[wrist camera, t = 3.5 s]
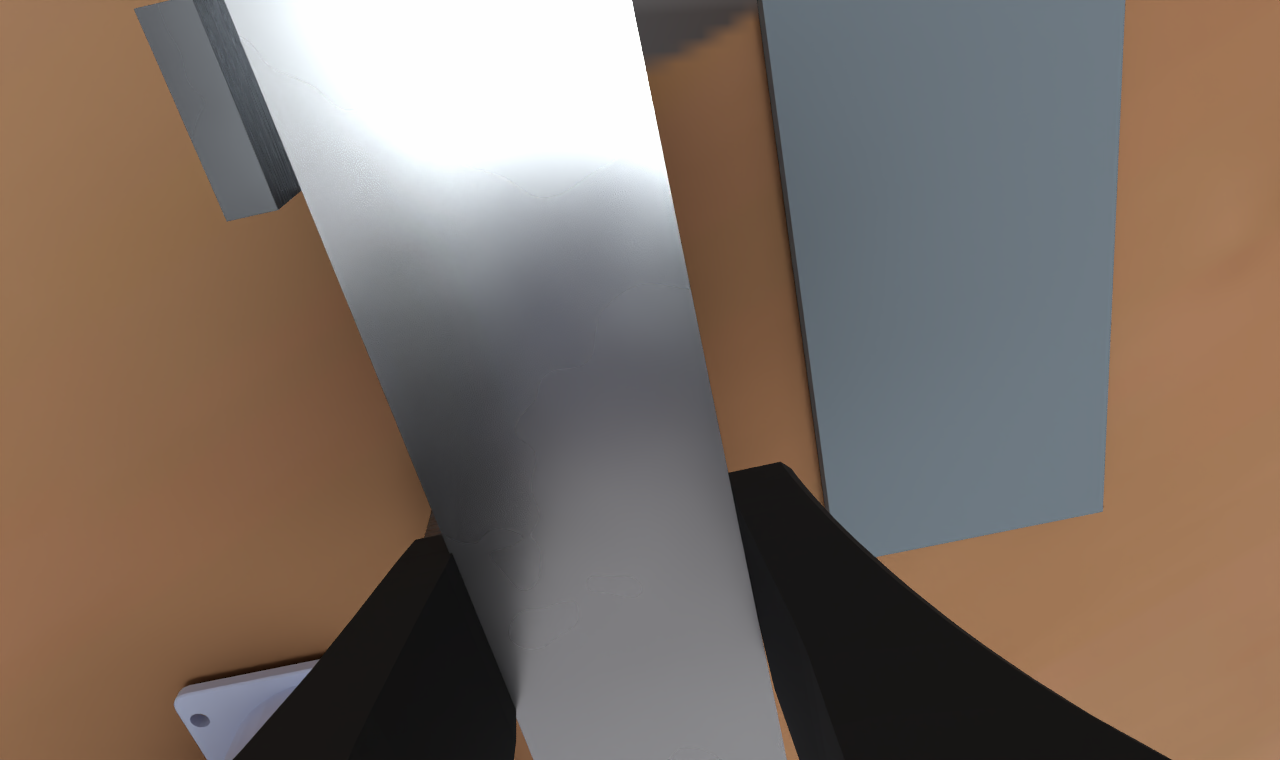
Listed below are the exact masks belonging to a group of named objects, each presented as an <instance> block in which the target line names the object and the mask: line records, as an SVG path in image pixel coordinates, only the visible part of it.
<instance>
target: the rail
mask: <svg viewBox="0 0 1280 760" xmlns="http://www.w3.org/2000/svg"><path fill="white" fill-rule="evenodd" d="M224 1H225V3H226V6H227V8H228V11H229V13H230V16H231V18H232V21H233V23H234V25H235V28H236V30H237V33H238V35H239V38H240V40H241V43H242V45H243V48H244V50H245V52H246V55H247V57H248V60H249V62H250V65H251V67H252V70H253V72H254V75H255V77H256V79H257V82H258V84H259V87H260V89H261V92H262V94H263V97H264V99H265V102H266V104H267V106H268V109H269V111H270V114H271V116H272V119H273V121H274V124H275V126H276V129H277V131H278V133H279V136H280V138H281V141H282V143H283V146H284V148H285V151H286V153H287V156H288V158H289V160H290V163H291V165H292V168H293V170H294V173H295V175H296V178H297V180H298V183H299V185H300V188H301V190H302V192H303V195H304V197H305V200H306V202H307V205H308V207H309V210H310V212H311V215H312V217H313V219H314V222H315V224H316V227H317V229H318V232H319V234H320V237H321V239H322V242H323V244H324V246H325V249H326V251H327V254H328V256H329V259H330V261H331V264H332V266H333V269H334V271H335V273H336V276H337V278H338V281H339V283H340V286H341V288H342V291H343V293H344V296H345V298H346V300H347V303H348V305H349V308H350V310H351V313H352V315H353V318H354V320H355V323H356V325H357V327H358V330H359V332H360V335H361V337H362V340H363V342H364V345H365V347H366V350H367V352H368V354H369V357H370V359H371V362H372V364H373V367H374V369H375V372H376V374H377V377H378V379H379V381H380V384H381V386H382V389H383V391H384V394H385V396H386V399H387V401H388V404H389V406H390V408H391V411H392V413H393V416H394V418H395V421H396V423H397V426H398V428H399V431H400V433H401V436H402V438H403V440H404V443H405V445H406V448H407V450H408V453H409V455H410V458H411V460H412V463H413V465H414V467H415V470H416V472H417V475H418V477H419V480H420V482H421V485H422V487H423V490H424V492H425V494H426V497H427V499H428V502H429V504H430V507H431V509H432V512H433V514H434V517H435V519H436V521H437V524H438V526H439V529H440V531H441V534H442V536H443V539H444V541H445V544H446V546H447V548H448V551H449V553H452V554H453V556H454V559H455V561H456V564H457V566H458V569H459V571H460V573H461V576H462V578H463V581H464V583H465V586H466V588H467V591H468V593H469V596H470V598H471V601H472V603H473V605H474V608H475V610H476V613H477V615H478V618H479V620H480V623H481V625H482V628H483V630H484V632H485V635H486V637H487V640H488V642H489V645H490V647H491V650H492V652H493V655H494V657H495V659H496V662H497V664H498V667H499V669H500V672H501V674H502V677H503V679H504V682H505V684H506V687H507V689H508V691H509V694H510V696H511V699H512V701H513V704H514V706H515V709H516V718H517V720H518V723H519V725H520V728H521V730H522V733H523V735H524V738H525V740H526V742H527V745H528V747H529V750H530V752H531V755H532V757H533V760H787V759H786V754H785V749H784V744H783V739H782V734H781V729H780V724H779V720H778V715H777V710H776V705H775V700H774V695H773V690H772V685H771V680H770V676H769V671H768V666H767V661H766V656H765V651H764V646H763V641H762V636H761V631H760V627H759V622H758V617H757V612H756V607H755V602H754V597H753V592H752V587H751V583H750V578H749V573H748V568H747V563H746V558H745V553H744V548H743V543H742V538H741V534H740V529H739V524H738V519H737V514H736V509H735V504H734V499H733V494H732V489H731V485H730V480H729V475H728V470H727V465H726V460H725V455H724V450H723V445H722V441H721V436H720V431H719V426H718V421H717V416H716V411H715V406H714V401H713V396H712V392H711V387H710V382H709V377H708V372H707V367H706V362H705V357H704V352H703V348H702V343H701V338H700V333H699V328H698V323H697V318H696V313H695V308H694V303H693V299H692V294H691V289H690V284H689V279H688V274H687V269H686V264H685V259H684V255H683V250H682V245H681V240H680V235H679V230H678V225H677V220H676V215H675V210H674V206H673V201H672V196H671V191H670V186H669V181H668V176H667V171H666V166H665V161H664V157H663V152H662V147H661V142H660V137H659V132H658V127H657V122H656V117H655V113H654V108H653V103H652V98H651V93H650V88H649V83H648V78H647V73H646V68H645V64H644V59H643V54H642V49H641V44H640V39H639V34H638V30H637V25H636V20H635V15H634V10H633V5H632V0H224Z"/></svg>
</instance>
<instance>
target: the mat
mask: <svg viewBox="0 0 1280 760" xmlns="http://www.w3.org/2000/svg"><path fill="white" fill-rule="evenodd" d="M757 4H758V11H759V19H760V26H761V34H762V41H763V48H764V56H765V63H766V71H767V78H768V86H769V93H770V101H771V108H772V115H773V123H774V130H775V138H776V145H777V153H778V160H779V168H780V175H781V183H782V190H783V197H784V205H785V212H786V220H787V227H788V235H789V242H790V250H791V257H792V264H793V272H794V279H795V287H796V294H797V302H798V309H799V317H800V324H801V332H802V339H803V346H804V354H805V361H806V369H807V376H808V384H809V391H810V399H811V406H812V413H813V421H814V428H815V436H816V443H817V451H818V458H819V466H820V473H821V481H822V488H823V495H824V503H825V509H826V510H827V511H828V512H829V513H830V514H831V515H832V516H833V517H834V518H835V519H836V520H837V521H838V522H839V523H840V524H841V525H842V526H843V527H844V528H845V529H846V530H847V531H848V532H849V533H850V534H851V535H852V536H853V537H854V538H855V539H856V540H857V541H858V542H859V543H860V544H861V545H863V546H864V547H865V548H866V549H867V550H868V551H869V552H870V553H871V554H872V555H874V556H875V557H878V556H883V555H888V554H893V553H898V552H903V551H908V550H913V549H918V548H923V547H928V546H933V545H938V544H943V543H948V542H953V541H958V540H963V539H968V538H973V537H978V536H983V535H988V534H993V533H998V532H1003V531H1008V530H1013V529H1018V528H1023V527H1028V526H1033V525H1038V524H1043V523H1048V522H1053V521H1058V520H1063V519H1068V518H1073V517H1078V516H1083V515H1088V514H1093V513H1098V512H1103V493H1104V470H1105V447H1106V425H1107V402H1108V379H1109V357H1110V334H1111V311H1112V289H1113V266H1114V243H1115V221H1116V198H1117V175H1118V153H1119V130H1120V107H1121V85H1122V62H1123V39H1124V16H1125V0H757Z"/></svg>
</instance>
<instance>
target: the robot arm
mask: <svg viewBox="0 0 1280 760" xmlns="http://www.w3.org/2000/svg"><path fill="white" fill-rule="evenodd" d="M728 475H729V480H730V485H731V489H732V494H733V499H734V504H735V509H736V514H737V519H738V524H739V529H740V534H741V538H742V543H743V548H744V553H745V558H746V563H747V568H748V573H749V578H750V583H751V587H752V592H753V597H754V602H755V607H756V612H757V617H758V622H759V626H760V630H761V634H762V638H763V643H764V647H765V651H766V655H767V659H768V663H769V667H770V672H771V676H772V680H773V684H774V688H775V691H776V694H777V697H778V700H779V703H780V706H781V708H782V711H783V714H784V717H785V720H786V723H787V726H788V728H789V731H790V734H791V737H792V740H793V743H794V746H795V749H796V751H797V754H798V757H799V760H1171V759H1169V758H1168V757H1166V756H1164V755H1162V754H1160V753H1159V752H1157V751H1155V750H1153V749H1151V748H1150V747H1148V746H1146V745H1144V744H1142V743H1141V742H1139V741H1137V740H1135V739H1133V738H1132V737H1130V736H1128V735H1126V734H1124V733H1123V732H1121V731H1119V730H1117V729H1115V728H1114V727H1112V726H1110V725H1108V724H1106V723H1105V722H1103V721H1101V720H1099V719H1097V718H1096V717H1094V716H1092V715H1090V714H1089V713H1087V712H1085V711H1084V710H1082V709H1081V708H1079V707H1077V706H1076V705H1074V704H1073V703H1071V702H1069V701H1068V700H1066V699H1065V698H1063V697H1062V696H1060V695H1058V694H1057V693H1055V692H1054V691H1052V690H1050V689H1049V688H1047V687H1046V686H1044V685H1042V684H1041V683H1039V682H1038V681H1036V680H1035V679H1033V678H1031V677H1030V676H1029V675H1027V674H1026V673H1024V672H1023V671H1021V670H1020V669H1018V668H1017V667H1015V666H1014V665H1012V664H1011V663H1009V662H1008V661H1006V660H1005V659H1003V658H1002V657H1001V656H999V655H998V654H996V653H995V652H993V651H992V650H990V649H989V648H987V647H986V646H985V645H983V644H982V643H981V642H979V641H978V640H976V639H975V638H974V637H972V636H971V635H970V634H968V633H967V632H966V631H964V630H963V629H962V628H960V627H959V626H958V625H956V624H955V623H954V622H952V621H951V620H950V619H948V618H947V617H946V616H945V615H943V614H942V613H941V612H940V611H938V610H937V609H936V608H935V607H933V606H932V605H931V604H930V603H928V602H927V601H926V600H925V599H923V598H922V597H921V596H920V595H918V594H917V593H916V592H915V591H913V590H912V589H911V588H910V587H909V586H907V585H906V584H905V583H904V582H903V581H902V580H900V579H899V578H898V577H897V576H896V575H895V574H893V573H892V572H891V571H890V570H889V569H888V568H887V567H886V566H884V565H883V564H882V563H881V562H880V561H879V560H878V559H877V558H876V557H875V556H874V555H872V554H871V553H870V552H869V551H868V550H867V549H866V548H865V547H864V546H863V545H861V544H860V543H859V542H858V541H857V540H856V539H855V538H854V537H853V536H852V535H851V534H850V533H849V532H848V531H847V530H846V529H845V528H844V527H843V526H842V525H841V524H840V523H839V522H838V521H837V520H836V519H835V518H834V517H833V516H832V515H831V514H830V513H829V512H828V511H827V510H826V509H825V508H824V507H823V506H822V505H821V504H820V502H819V501H818V500H817V499H816V498H815V497H814V496H813V495H812V494H811V492H810V491H809V490H808V489H807V488H806V487H805V485H804V484H803V483H802V482H801V481H800V479H799V478H798V477H797V476H796V474H795V473H794V472H793V470H792V469H791V468H789V467H788V466H786V465H785V464H783V463H781V462H777V463H773V464H768V465H763V466H759V467H754V468H749V469H745V470H740V471H735V472H731V473H728ZM174 707H175V710H176V712H177V713H178V715H179V716H180V718H181V719H182V721H183V723H184V724H185V726H186V727H187V729H188V730H189V732H190V734H191V735H192V737H193V738H194V740H195V742H196V743H197V745H198V746H199V748H200V749H201V751H202V753H203V754H204V756H205V757H206V759H207V760H514V753H515V744H516V709H515V706H514V704H513V701H512V699H511V696H510V694H509V691H508V689H507V687H506V684H505V682H504V679H503V677H502V674H501V672H500V669H499V667H498V664H497V662H496V659H495V657H494V655H493V652H492V650H491V647H490V645H489V642H488V640H487V637H486V635H485V632H484V630H483V628H482V625H481V623H480V620H479V618H478V615H477V613H476V610H475V608H474V605H473V603H472V601H471V598H470V596H469V593H468V591H467V588H466V586H465V583H464V581H463V578H462V576H461V573H460V571H459V569H458V566H457V564H456V561H455V559H454V556H453V554H452V553H449V551H448V548H447V546H446V544H445V541H444V539H443V536H442V534H441V535H436V536H431V537H427V538H422V539H417V540H415V541H414V542H413V543H412V544H411V546H410V547H409V548H408V549H407V550H406V551H405V553H404V554H403V555H402V556H401V557H400V559H399V560H398V561H397V562H396V564H395V565H394V566H393V567H392V569H391V570H390V571H389V572H388V574H387V575H386V576H385V578H384V579H383V580H382V581H381V583H380V584H379V585H378V586H377V588H376V589H375V590H374V592H373V593H372V594H371V595H370V597H369V598H368V599H367V601H366V602H365V603H364V604H363V606H362V607H361V608H360V610H359V611H358V612H357V613H356V615H355V616H354V617H353V618H352V620H351V621H350V622H349V623H348V625H347V626H346V627H345V628H344V630H343V631H342V632H341V633H340V635H339V636H338V637H337V638H336V640H335V641H334V642H333V643H332V645H331V646H330V647H329V648H328V650H327V651H326V652H325V653H324V655H323V656H322V657H321V658H320V659H318V660H313V661H308V662H303V663H298V664H293V665H288V666H283V667H278V668H273V669H268V670H263V671H258V672H253V673H248V674H243V675H238V676H233V677H228V678H223V679H218V680H213V681H208V682H203V683H198V684H193V685H189V686H186V687H184V688H182V689H181V690H180V692H179V693H178V695H177V697H176V699H175V702H174ZM201 714H203V715H206V716H203V715H201Z"/></svg>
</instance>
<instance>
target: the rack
mask: <svg viewBox="0 0 1280 760" xmlns="http://www.w3.org/2000/svg"><path fill="white" fill-rule="evenodd" d="M134 10H135V13H136V15H137V17H138V20H139V22H140V24H141V26H142V29H143V31H144V33H145V36H146V38H147V40H148V42H149V45H150V47H151V49H152V51H153V54H154V56H155V58H156V61H157V63H158V65H159V67H160V70H161V72H162V74H163V77H164V79H165V81H166V83H167V86H168V88H169V90H170V93H171V95H172V97H173V99H174V102H175V104H176V106H177V109H178V111H179V113H180V115H181V118H182V120H183V122H184V125H185V127H186V129H187V131H188V134H189V136H190V138H191V141H192V143H193V145H194V147H195V150H196V152H197V154H198V157H199V159H200V161H201V163H202V166H203V168H204V170H205V173H206V175H207V177H208V179H209V182H210V184H211V186H212V189H213V191H214V193H215V195H216V198H217V200H218V202H219V205H220V207H221V209H222V211H223V214H224V216H225V218H226V220H227V221H231V220H236V219H240V218H244V217H249V216H253V215H258V214H262V213H267V212H271V211H276V210H279V209H280V208H281V207H282V206H283V205H285V204H286V203H287V202H288V201H289V200H290V199H292V198H293V197H294V196H295V195H296V194H298V193H299V192H300V191H301V188H300V185H299V183H298V180H297V178H296V175H295V173H294V170H293V168H292V165H291V163H290V160H289V158H288V156H287V153H286V151H285V148H284V146H283V143H282V141H281V138H280V136H279V133H278V131H277V129H276V126H275V124H274V121H273V119H272V116H271V114H270V111H269V109H268V106H267V104H266V102H265V99H264V97H263V94H262V92H261V89H260V87H259V84H258V82H257V79H256V77H255V75H254V72H253V70H252V67H251V65H250V62H249V60H248V57H247V55H246V52H245V50H244V48H243V45H242V43H241V40H240V38H239V35H238V33H237V30H236V28H235V25H234V23H233V21H232V18H231V16H230V13H229V11H228V8H227V6H226V3H225V1H224V0H169V1H165V2H161V3H156V4H152V5H148V6H144V7H140V8H135V9H134ZM436 535H441V531H440V529H439V526H438V524H437V521H436V519H435V517H434V514H433V512H432V511H431V515H430V518H429V522H428V526H427V529H426V533H425V537H424V538H427V537H431V536H436Z"/></svg>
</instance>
